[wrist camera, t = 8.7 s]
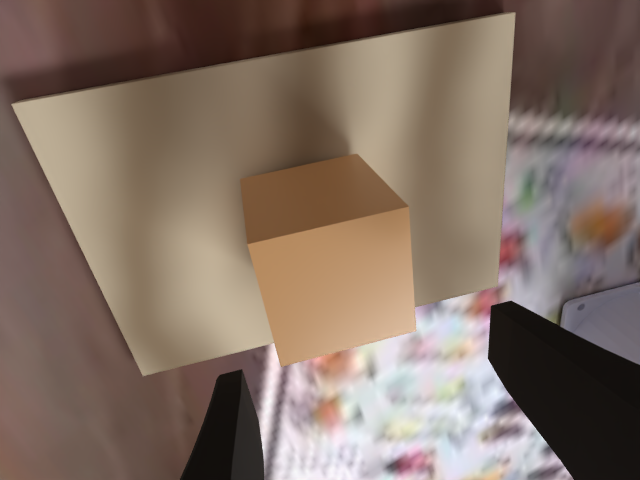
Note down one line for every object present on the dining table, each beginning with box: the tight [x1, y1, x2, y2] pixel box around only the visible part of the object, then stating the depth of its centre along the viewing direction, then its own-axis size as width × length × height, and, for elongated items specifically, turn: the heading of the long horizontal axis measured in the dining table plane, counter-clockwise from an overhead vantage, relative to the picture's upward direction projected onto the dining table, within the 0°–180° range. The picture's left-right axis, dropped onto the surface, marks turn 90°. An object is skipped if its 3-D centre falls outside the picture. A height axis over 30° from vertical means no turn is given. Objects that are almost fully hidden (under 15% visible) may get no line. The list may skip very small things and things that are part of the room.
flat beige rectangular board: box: [11, 12, 515, 376], centre depth 18 cm, size 20×14×7 cm
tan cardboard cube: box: [240, 154, 416, 367], centre depth 17 cm, size 5×5×6 cm
